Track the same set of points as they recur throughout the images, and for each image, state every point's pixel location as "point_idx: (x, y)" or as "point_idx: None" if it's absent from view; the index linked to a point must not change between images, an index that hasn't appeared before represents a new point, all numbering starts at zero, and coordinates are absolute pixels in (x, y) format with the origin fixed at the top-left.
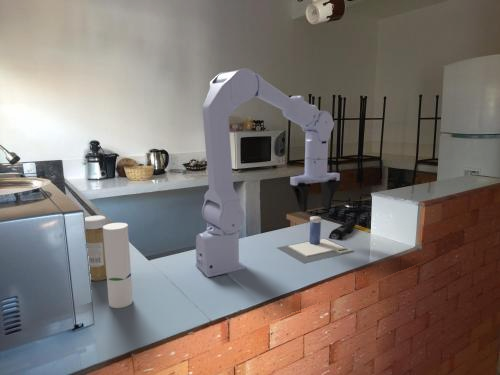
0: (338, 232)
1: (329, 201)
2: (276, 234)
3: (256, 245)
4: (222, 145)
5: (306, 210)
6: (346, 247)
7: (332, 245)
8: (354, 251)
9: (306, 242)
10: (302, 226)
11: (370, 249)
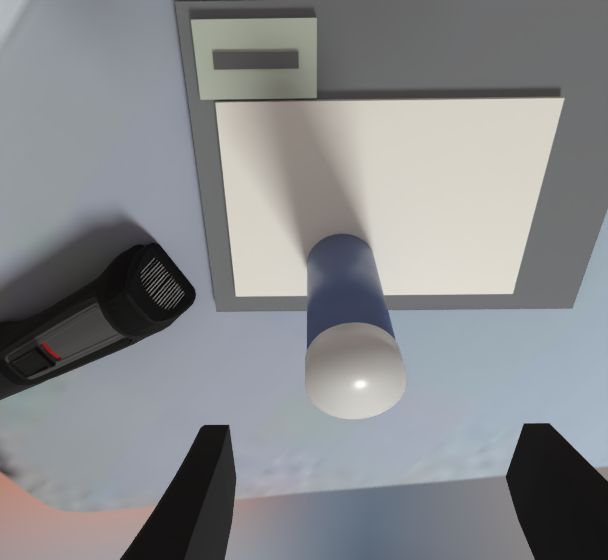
0: (130, 290)
1: (202, 492)
2: (399, 455)
3: (599, 384)
4: None
5: (535, 434)
6: (200, 92)
7: (268, 174)
8: (181, 4)
9: None
10: None
11: (15, 5)
